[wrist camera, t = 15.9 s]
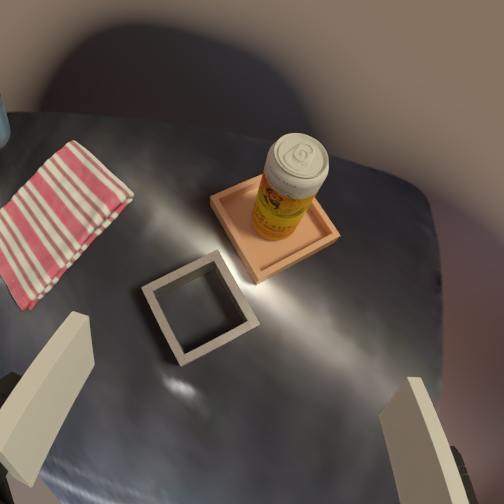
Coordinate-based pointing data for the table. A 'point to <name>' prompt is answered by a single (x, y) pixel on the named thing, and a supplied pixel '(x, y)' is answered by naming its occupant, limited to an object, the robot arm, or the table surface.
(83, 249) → the dish towel
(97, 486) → the table surface
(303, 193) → the beer can
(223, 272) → the frame
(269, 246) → the serving tray
